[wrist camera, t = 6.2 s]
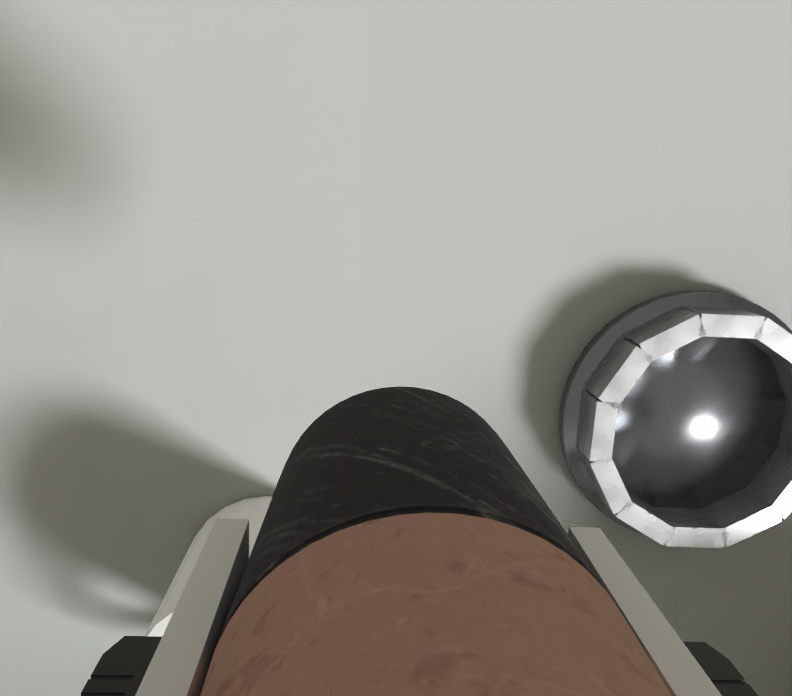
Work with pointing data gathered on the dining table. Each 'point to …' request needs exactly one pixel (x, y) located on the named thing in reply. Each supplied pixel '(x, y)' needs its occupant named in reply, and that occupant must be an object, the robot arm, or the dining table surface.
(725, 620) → the dining table surface
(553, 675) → the travel mug
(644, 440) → the ring
